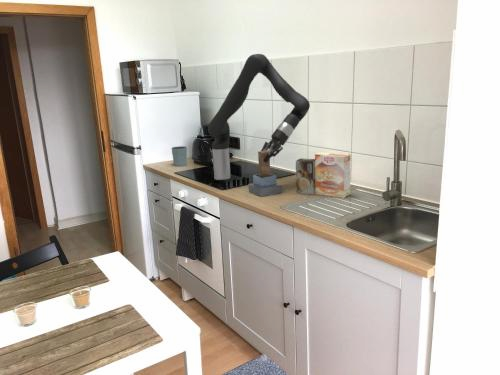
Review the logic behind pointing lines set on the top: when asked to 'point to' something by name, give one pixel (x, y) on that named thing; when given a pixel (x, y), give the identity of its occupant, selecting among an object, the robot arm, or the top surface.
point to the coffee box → (305, 176)
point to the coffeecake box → (332, 174)
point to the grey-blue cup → (179, 155)
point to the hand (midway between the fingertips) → (262, 161)
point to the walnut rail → (263, 164)
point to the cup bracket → (264, 186)
